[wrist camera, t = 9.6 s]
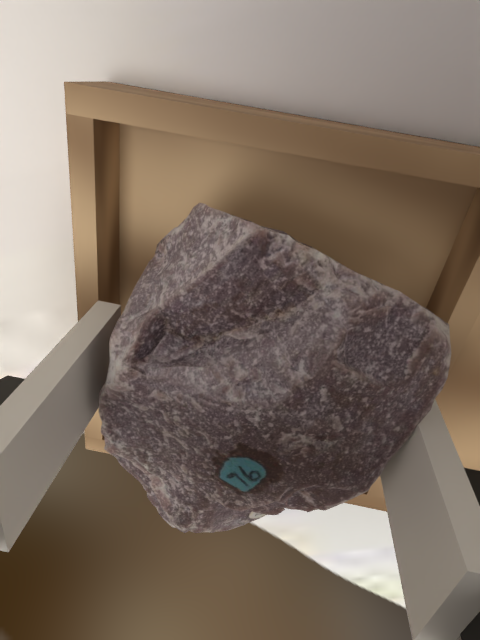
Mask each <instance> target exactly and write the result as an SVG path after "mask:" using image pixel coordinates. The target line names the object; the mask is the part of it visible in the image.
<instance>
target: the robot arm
mask: <svg viewBox="0 0 480 640" xmlns="http://www.w3.org/2000/svg"><path fill="white" fill-rule="evenodd" d="M120 316H121V305H118V304H113V303H108V302H103V301H97V302H96V303H95V304H94V305H93V306H92V308H91V309H90V310H89V311H88V312H87V313H86V314H85V315H84V316H83V317H82V318H81V319H80V320H79V322H78V323H77V324H76V325H75V326H74V327H73V328H72V329H71V330H70V331H69V332H68V333H67V334H66V336H65V337H64V338H63V339H62V340H61V341H60V342H59V343H58V344H57V345H56V346H55V347H54V348H53V350H52V351H51V352H50V353H49V354H48V355H47V356H46V357H45V358H44V359H43V360H42V361H41V362H40V364H39V365H38V366H37V367H36V368H35V369H34V370H33V371H32V372H31V373H30V374H29V375H28V376H27V378H26V379H22V378H17V377H12V376H6V377H4V378H2V379H0V550H1V551H5V552H9V550H10V549H11V547H12V546H13V544H14V542H15V541H16V539H17V538H18V536H19V534H20V533H21V531H22V529H23V528H24V526H25V525H26V523H27V522H28V520H29V518H30V517H31V515H32V513H33V512H34V510H35V509H36V507H37V506H38V504H39V502H40V501H41V499H42V497H43V496H44V494H45V493H46V491H47V490H48V488H49V486H50V484H51V483H52V481H53V480H54V478H55V477H56V475H57V473H58V472H59V470H60V469H61V467H62V465H63V464H64V462H65V461H66V459H67V457H68V456H69V454H70V453H71V451H72V449H73V448H74V446H75V444H76V443H77V441H78V440H79V438H80V437H81V435H82V433H83V432H84V430H85V429H86V427H87V425H88V424H89V422H90V421H91V419H92V417H93V416H94V414H95V412H96V411H97V409H98V408H99V406H98V400H99V394H100V390H101V388H102V386H103V385H104V383H105V382H106V378H107V373H108V368H109V363H110V353H109V341H110V337H111V334H112V332H113V330H114V327H115V325H116V323H117V321H118V319H119V318H120ZM380 477H381V482H382V487H383V492H384V497H385V502H386V507H387V513H388V518H389V523H390V528H391V533H392V538H393V543H394V548H395V553H396V558H397V563H398V569H399V574H400V579H401V584H402V589H403V594H404V599H405V604H406V609H407V614H408V620H409V625H410V629H411V635H412V640H457V639H459V637H460V636H461V639H462V640H480V471H478V470H473V469H468V468H464V467H463V465H462V462H461V460H460V457H459V455H458V453H457V450H456V448H455V445H454V443H453V441H452V438H451V436H450V433H449V431H448V429H447V426H446V424H445V421H444V419H443V417H442V414H441V412H440V409H439V407H438V405H437V402H436V400H434V403H433V405H432V408H431V410H430V411H429V412H428V414H427V415H426V416H425V417H424V418H423V420H422V421H421V422H420V423H419V424H418V425H417V427H416V428H415V430H414V431H413V433H412V434H411V435H410V437H409V438H408V440H407V441H406V442H405V443H404V445H403V446H402V447H401V448H400V449H399V450H398V451H397V452H396V453H395V454H394V455H393V456H392V457H391V459H390V460H389V461H388V463H387V464H386V466H385V468H384V470H383V471H382V473H381V475H380Z"/></svg>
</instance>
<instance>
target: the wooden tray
mask: <svg viewBox="0 0 480 640" xmlns="http://www.w3.org/2000/svg"><path fill="white" fill-rule="evenodd" d="M64 89H65V106H66V123H67V140H68V157H69V174H70V191H71V208H72V225H73V242H74V259H75V276H76V294H77V311H78V322H79V320H80V319H81V318H82V317H83V316H84V315H85V314H86V313H87V312H88V311H89V310H90V309H91V308H92V306H93V305H94V304H95V303H96V302H97V301H103V302H108V303H113V304H118V305H121V315H122V313H123V311H124V309H125V306H126V304H127V302H128V300H129V298H130V296H131V294H132V292H133V289H134V287H135V285H136V284H137V282H138V280H139V278H140V277H141V275H142V273H143V271H144V270H145V268H146V266H147V265H148V263H149V261H150V260H151V259H152V258H153V257H154V255H155V251H156V247H157V244H158V243H159V242H160V241H161V240H162V239H163V238H164V237H165V236H166V235H167V234H168V233H169V232H170V231H171V230H172V229H173V228H175V227H178V226H179V225H180V224H181V223H182V222H183V221H184V220H185V219H186V218H187V217H188V215H189V213H190V212H191V210H192V209H193V207H194V206H196V205H197V204H198V203H203V204H206V205H208V206H209V207H211V208H214V209H217V210H220V211H223V212H226V213H228V214H231V215H234V216H237V217H240V218H243V219H246V220H249V221H252V222H253V223H256V224H257V225H259V226H263V227H268V228H272V229H276V230H280V231H284V232H285V233H287V234H288V235H290V236H291V237H293V238H294V239H296V240H297V241H299V242H301V243H304V244H306V245H309V246H311V247H313V248H315V249H316V250H318V251H320V252H322V253H323V254H325V255H327V256H329V257H331V258H332V259H334V260H336V261H337V262H339V263H341V264H342V265H344V266H345V267H347V268H349V269H351V270H353V271H355V272H357V273H359V274H361V275H364V276H366V277H368V278H370V279H373V280H375V281H377V282H379V283H381V284H383V285H386V286H388V287H390V288H393V289H395V290H398V291H400V292H402V293H403V294H405V295H406V296H408V297H409V298H410V299H412V300H413V301H415V302H416V303H418V304H419V305H421V306H423V307H425V308H427V309H429V310H430V311H431V312H432V313H434V314H435V315H436V316H438V317H439V318H441V319H442V320H443V321H445V322H446V323H448V324H449V330H450V343H451V360H450V367H449V372H448V377H447V380H446V382H445V384H444V387H443V389H442V391H441V392H440V393H439V394H438V396H437V397H436V398H435V400H436V402H437V405H438V407H439V409H440V412H441V414H442V417H443V419H444V421H445V424H446V426H447V429H448V431H449V433H450V436H451V438H452V441H453V443H454V445H455V448H456V450H457V453H458V455H459V457H460V460H461V462H462V465H463V467H464V468H468V469H473V470H478V471H480V147H477V146H471V145H465V144H460V143H454V142H448V141H443V140H437V139H431V138H425V137H420V136H414V135H408V134H403V133H397V132H391V131H386V130H380V129H374V128H368V127H363V126H357V125H351V124H346V123H340V122H334V121H329V120H323V119H317V118H311V117H306V116H300V115H294V114H289V113H283V112H277V111H272V110H266V109H260V108H254V107H249V106H243V105H237V104H232V103H226V102H220V101H215V100H209V99H203V98H197V97H192V96H186V95H180V94H175V93H169V92H163V91H158V90H152V89H146V88H140V87H135V86H129V85H123V84H118V83H112V82H64ZM101 425H102V421H101V418H100V415H99V408H98V409H97V411H96V412H95V414H94V416H93V417H92V419H91V421H90V422H89V424H88V425H87V427H86V429H85V446H86V449H90V450H94V451H99V452H104V453H109V452H107V451H106V450H105V449H104V447H105V439H104V436H103V435H102V434H101ZM109 454H110V453H109ZM344 503H348V504H353V505H358V506H363V507H368V508H372V509H377V510H382V511H387V507H386V502H385V497H384V492H383V487H382V482H381V477H380V476H379V477H378V479H377V480H376V481H375V482H374V483H373V484H372V486H371V487H370V489H369V490H368V491H367V492H365V493H363V494H361V495H359V496H357V497H355V498H353V499H351V500H349V501H347V502H344Z"/></svg>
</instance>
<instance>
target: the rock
mask: <svg viewBox="0 0 480 640" xmlns="http://www.w3.org/2000/svg"><path fill="white" fill-rule="evenodd" d="M109 353H110V363H109V368H108V373H107V378H106V382H105V383H104V385H103V386H102V388H101V390H100V394H99V400H98V406H99V415H100V418H101V421H102V425H101V434H102V435H103V436H104V439H105V447H104V449H105V450H106V451H107V452H109V453H110V454H111V455H113V456H115V457H116V458H117V460H118V462H119V463H120V464H121V465H122V466H123V468H124V469H125V470H127V471H128V472H129V473H130V474H132V475H133V476H134V477H135V478H136V479H137V480H138V481H139V482H140V483H141V484H142V485H143V487H144V490H146V491H147V497H148V499H149V500H150V501H151V503H152V504H153V505H154V506H155V507H156V508H157V510H158V512H159V515H160V516H161V517H162V518H163V519H164V520H165V521H166V522H167V523H168V524H170V526H172V527H173V528H177V529H178V530H180V531H181V532H184V533H185V532H187V531H191V532H194V533H200V532H215V531H227V530H230V529H233V528H236V527H239V526H242V525H245V524H247V523H248V522H251V521H254V520H256V519H259V518H261V517H263V516H265V515H277V514H279V513H281V512H282V511H283V510H285V509H284V508H288V509H297V510H303V511H307V512H310V511H313V510H317V509H320V510H327V509H330V508H332V507H334V506H337V505H339V504H342V503H344V502H347V501H349V500H351V499H353V498H355V497H357V496H359V495H361V494H363V493H365V492H367V491H368V490H369V489H370V487H371V486H372V484H373V483H374V482H375V481H376V480H377V479H378V477H379V476H380V475H381V473H382V471H383V470H384V468H385V466H386V464H387V463H388V461H389V460H390V459H391V457H392V456H393V455H394V454H395V453H396V452H397V451H398V450H399V449H400V448H401V447H402V446H403V445H404V443H405V442H406V441H407V440H408V438H409V437H410V435H411V434H412V433H413V431H414V430H415V428H416V427H417V425H418V424H419V423H420V422H421V421H422V420H423V418H424V417H425V416H426V415H427V414H428V412H429V411H430V410H431V408H432V405H433V403H434V400H435V398H436V397H437V396H438V394H439V393H440V392H441V391H442V389H443V387H444V384H445V382H446V380H447V377H448V372H449V367H450V360H451V343H450V330H449V324H448V323H446V322H445V321H443V320H442V319H441V318H439V317H438V316H436V315H435V314H434V313H432V312H431V311H430V310H429V309H427V308H425V307H423V306H421V305H419V304H418V303H416V302H415V301H413V300H412V299H410V298H409V297H408V296H406V295H405V294H403V293H402V292H400V291H398V290H395V289H393V288H390V287H388V286H386V285H383V284H381V283H379V282H377V281H375V280H373V279H370V278H368V277H366V276H364V275H361V274H359V273H357V272H355V271H353V270H351V269H349V268H347V267H345V266H344V265H342V264H341V263H339V262H337V261H336V260H334V259H332V258H331V257H329V256H327V255H325V254H323V253H322V252H320V251H318V250H316V249H315V248H313V247H311V246H309V245H306V244H304V243H301V242H299V241H297V240H296V239H294V238H293V237H291V236H290V235H288V234H287V233H285V232H284V231H280V230H276V229H272V228H268V227H263V226H259V225H257V224H256V223H253V222H252V221H249V220H246V219H243V218H240V217H237V216H234V215H231V214H228V213H226V212H223V211H220V210H217V209H214V208H211V207H209V206H208V205H206V204H203V203H198V204H197V205H196V206H194V207H193V209H192V210H191V212H190V213H189V215H188V217H187V218H186V219H185V220H184V221H183V222H182V223H181V224H180V225H179V226H178V227H175V228H173V229H172V230H171V231H170V232H169V233H168V234H167V235H166V236H165V237H164V238H163V239H162V240H161V241H160V242H159V243H158V244H157V247H156V251H155V255H154V257H153V258H152V259H151V260H150V261H149V263H148V265H147V266H146V268H145V270H144V271H143V273H142V275H141V277H140V278H139V280H138V282H137V284H136V285H135V287H134V289H133V292H132V294H131V296H130V298H129V300H128V302H127V304H126V306H125V309H124V311H123V313H122V315H121V316H120V318H119V319H118V321H117V323H116V325H115V327H114V330H113V332H112V334H111V337H110V341H109Z"/></svg>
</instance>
